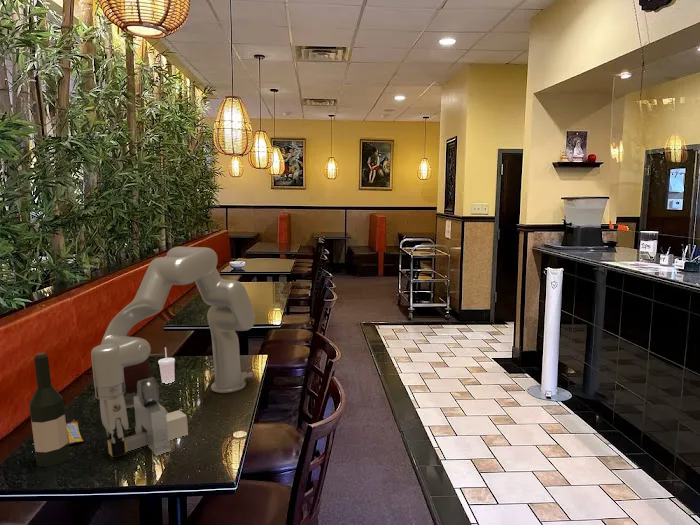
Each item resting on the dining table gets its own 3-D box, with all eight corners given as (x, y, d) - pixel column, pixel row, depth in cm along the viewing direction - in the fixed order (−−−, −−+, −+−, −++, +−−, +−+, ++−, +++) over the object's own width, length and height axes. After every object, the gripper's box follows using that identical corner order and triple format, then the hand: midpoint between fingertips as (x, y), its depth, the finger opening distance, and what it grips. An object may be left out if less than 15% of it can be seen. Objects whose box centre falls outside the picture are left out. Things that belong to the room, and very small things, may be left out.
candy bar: (63, 427, 161) (63, 422, 161) (78, 424, 164) (78, 418, 163) (67, 449, 147) (67, 442, 147) (84, 444, 150) (83, 438, 149)
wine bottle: (45, 470, 135) (32, 360, 131) (29, 462, 139) (16, 356, 135) (76, 456, 142) (64, 351, 138) (60, 449, 146) (48, 347, 142)
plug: (180, 428, 157) (179, 409, 156) (188, 435, 152) (186, 415, 152) (107, 452, 144) (105, 431, 143) (113, 459, 139) (111, 438, 138)
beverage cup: (180, 381, 198) (177, 346, 196) (166, 386, 193) (163, 350, 191) (169, 378, 201) (166, 344, 200) (156, 383, 196) (153, 348, 194)
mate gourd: (160, 395, 184) (155, 341, 182) (134, 411, 171) (129, 353, 168) (124, 392, 188) (119, 339, 186) (96, 408, 175) (90, 351, 173)
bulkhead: (148, 429, 157) (143, 369, 155) (171, 451, 142) (165, 386, 140) (135, 433, 155) (129, 372, 152) (156, 456, 140) (150, 390, 138)
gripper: (133, 394, 136) (140, 458, 138) (116, 378, 149) (122, 437, 151) (103, 401, 131) (110, 468, 134) (88, 384, 144) (94, 446, 146)
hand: (116, 451), depth 142 cm, fingers closed on plug, 3 cm apart
